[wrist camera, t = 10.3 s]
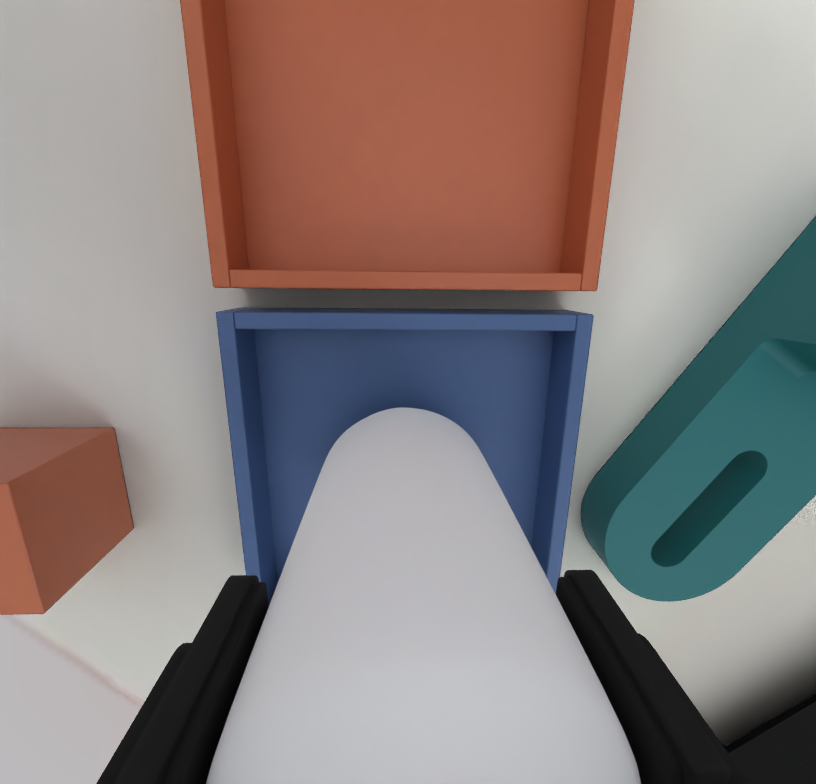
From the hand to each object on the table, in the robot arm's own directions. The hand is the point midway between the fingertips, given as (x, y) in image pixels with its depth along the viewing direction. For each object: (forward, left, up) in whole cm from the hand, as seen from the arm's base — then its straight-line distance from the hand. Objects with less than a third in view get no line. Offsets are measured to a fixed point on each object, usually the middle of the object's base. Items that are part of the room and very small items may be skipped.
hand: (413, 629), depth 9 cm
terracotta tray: (0, +14, -9) cm, 17 cm away
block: (-15, -1, -9) cm, 18 cm away
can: (0, 0, -7) cm, 7 cm away
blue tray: (0, 0, -9) cm, 9 cm away
